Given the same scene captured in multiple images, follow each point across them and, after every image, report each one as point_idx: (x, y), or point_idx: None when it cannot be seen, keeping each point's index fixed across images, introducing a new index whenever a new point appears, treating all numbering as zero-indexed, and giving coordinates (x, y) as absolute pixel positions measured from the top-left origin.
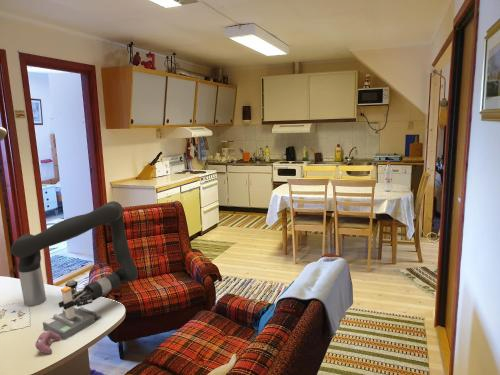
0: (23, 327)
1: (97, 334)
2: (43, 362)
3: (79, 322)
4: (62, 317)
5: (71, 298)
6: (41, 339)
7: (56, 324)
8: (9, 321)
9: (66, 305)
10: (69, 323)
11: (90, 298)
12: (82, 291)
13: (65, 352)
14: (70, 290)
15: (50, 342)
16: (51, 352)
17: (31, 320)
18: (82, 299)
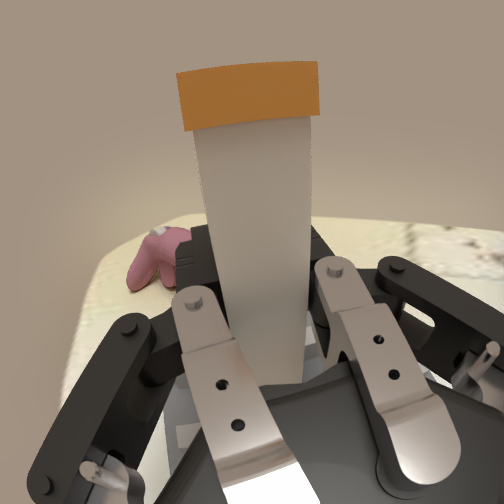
0: (412, 255)
1: None
2: (116, 268)
3: (185, 424)
4: (309, 339)
5: (216, 259)
6: (156, 232)
7: None
8: (467, 235)
9: (184, 245)
10: None
11: (36, 476)
12: (405, 479)
13: (91, 321)
14: (184, 117)
15: None
16: (129, 287)
17: (455, 277)
18: (94, 381)
